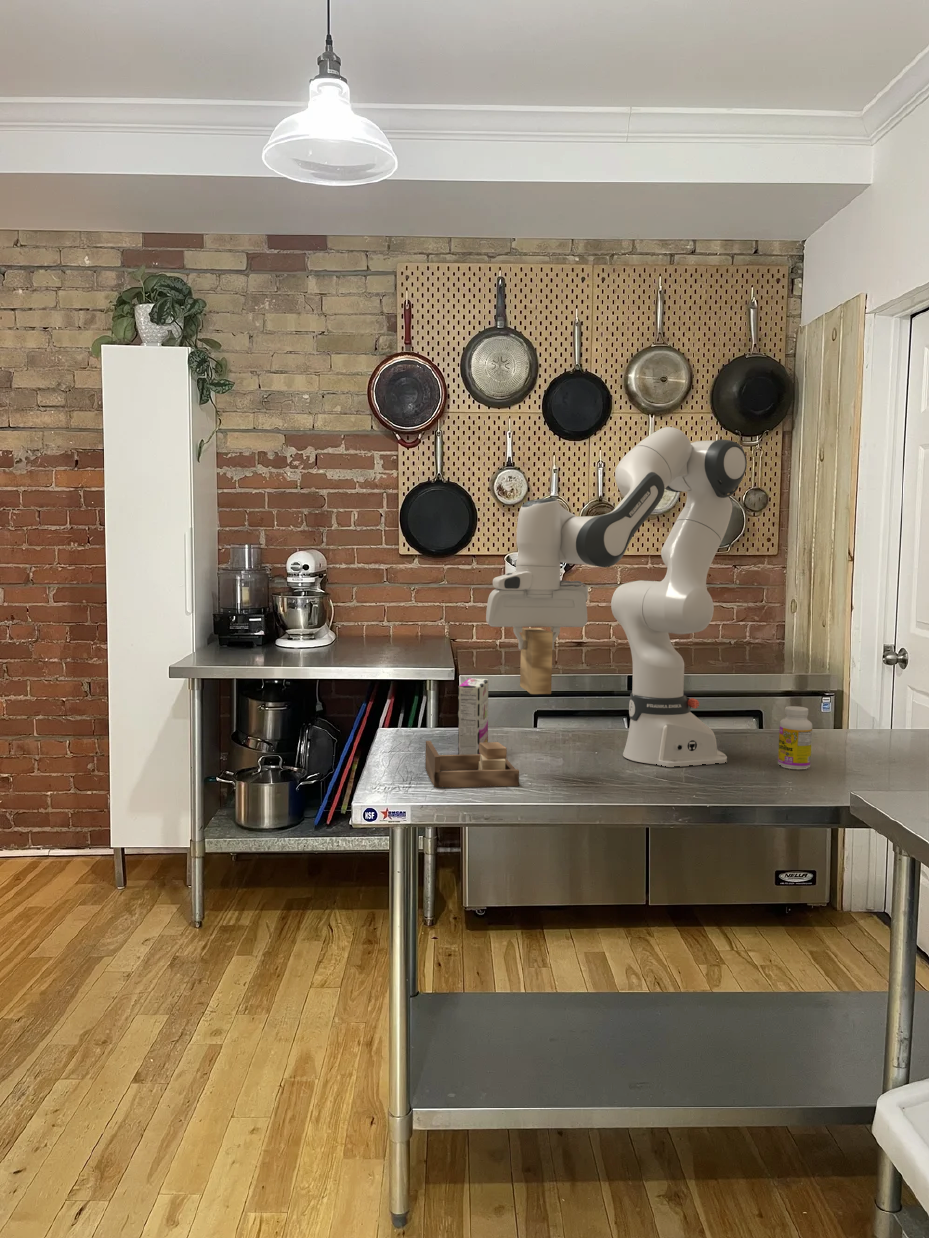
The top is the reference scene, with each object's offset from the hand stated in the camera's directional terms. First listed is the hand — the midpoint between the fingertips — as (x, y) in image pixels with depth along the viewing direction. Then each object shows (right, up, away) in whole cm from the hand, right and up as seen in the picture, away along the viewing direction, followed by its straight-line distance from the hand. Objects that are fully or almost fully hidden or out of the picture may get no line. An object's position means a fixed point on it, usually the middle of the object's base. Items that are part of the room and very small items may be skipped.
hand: (536, 649), depth 190 cm
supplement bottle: (+56, -26, +14) cm, 64 cm away
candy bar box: (-12, -24, +20) cm, 34 cm away
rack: (-13, -26, 0) cm, 29 cm away
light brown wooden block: (0, -8, +1) cm, 8 cm away
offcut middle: (-9, -24, +1) cm, 25 cm away
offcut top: (-9, -21, +1) cm, 23 cm away
